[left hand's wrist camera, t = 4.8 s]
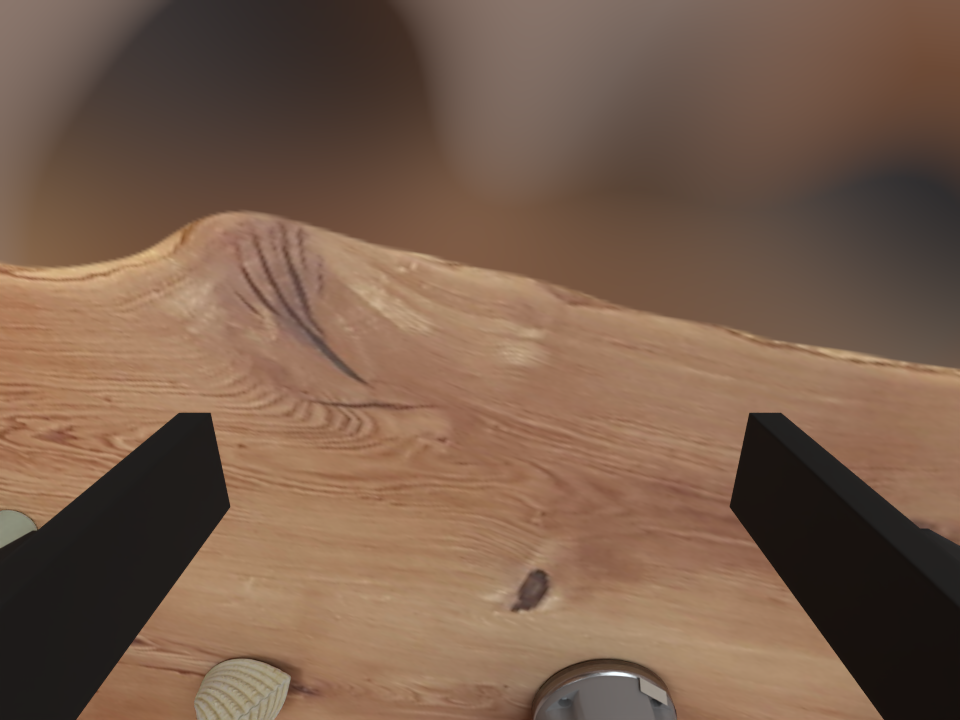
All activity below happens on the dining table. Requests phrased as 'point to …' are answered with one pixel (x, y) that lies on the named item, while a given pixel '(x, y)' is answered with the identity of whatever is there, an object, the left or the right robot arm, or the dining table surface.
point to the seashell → (242, 691)
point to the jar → (14, 526)
